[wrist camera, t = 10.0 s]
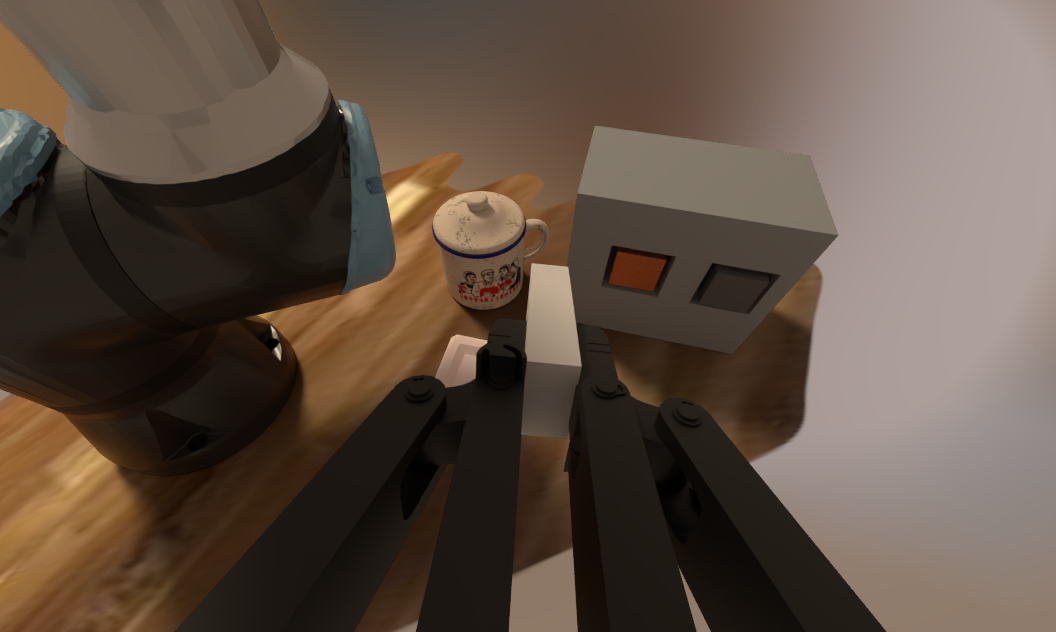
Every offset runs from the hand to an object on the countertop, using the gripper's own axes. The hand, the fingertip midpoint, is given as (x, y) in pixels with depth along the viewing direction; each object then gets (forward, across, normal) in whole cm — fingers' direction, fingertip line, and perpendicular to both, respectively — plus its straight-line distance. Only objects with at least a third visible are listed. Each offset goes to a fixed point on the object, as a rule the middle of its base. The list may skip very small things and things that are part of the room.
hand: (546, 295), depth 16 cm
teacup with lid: (+26, -4, -12) cm, 29 cm away
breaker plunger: (+22, +9, -5) cm, 24 cm away
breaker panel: (+24, +13, -12) cm, 30 cm away
